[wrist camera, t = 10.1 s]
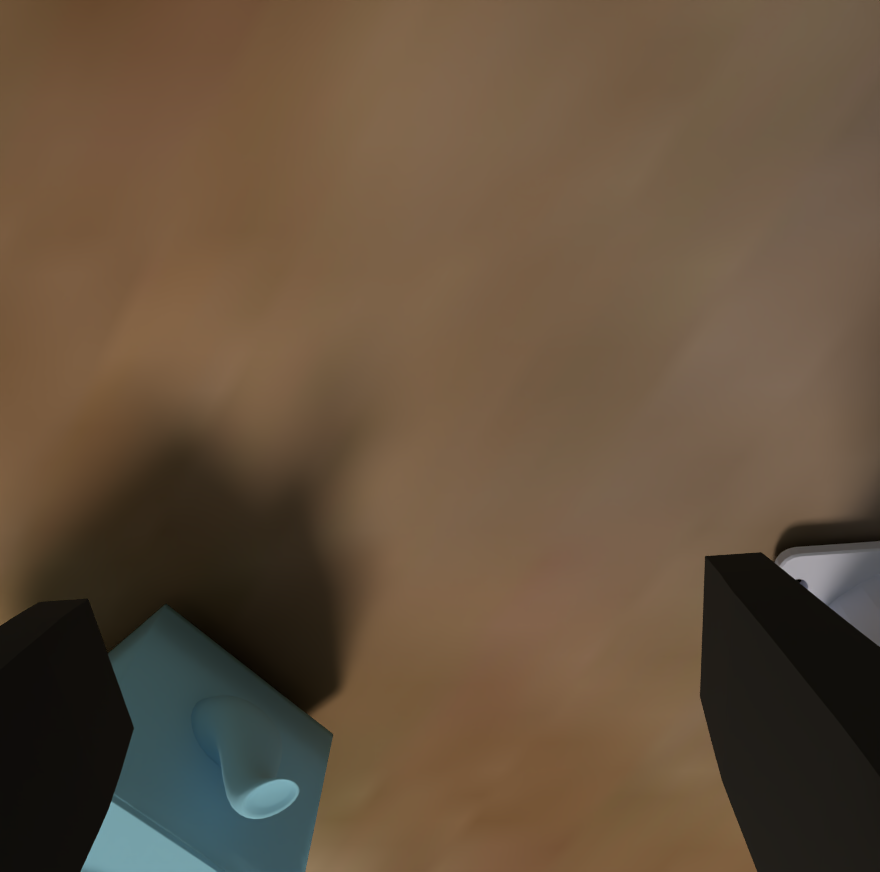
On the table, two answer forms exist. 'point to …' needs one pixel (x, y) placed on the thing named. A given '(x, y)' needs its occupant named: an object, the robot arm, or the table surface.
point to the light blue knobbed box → (207, 762)
